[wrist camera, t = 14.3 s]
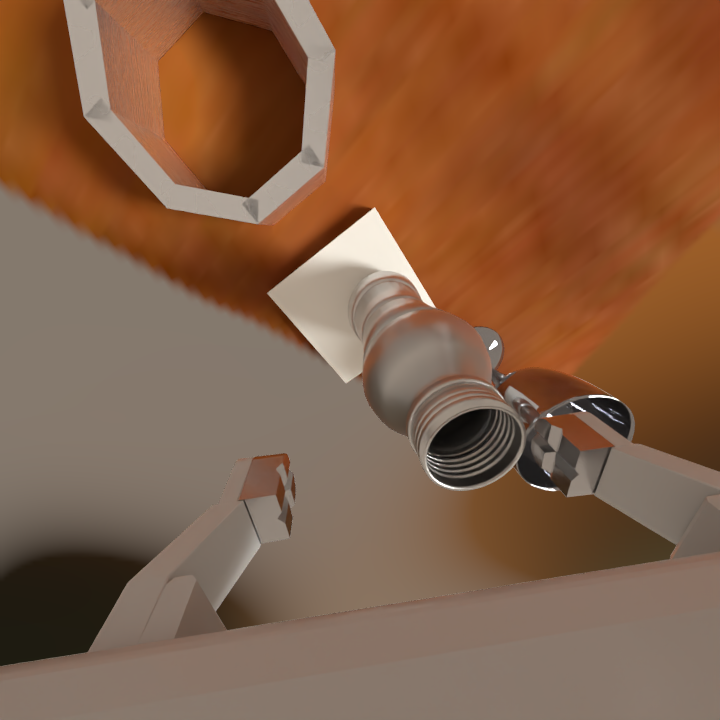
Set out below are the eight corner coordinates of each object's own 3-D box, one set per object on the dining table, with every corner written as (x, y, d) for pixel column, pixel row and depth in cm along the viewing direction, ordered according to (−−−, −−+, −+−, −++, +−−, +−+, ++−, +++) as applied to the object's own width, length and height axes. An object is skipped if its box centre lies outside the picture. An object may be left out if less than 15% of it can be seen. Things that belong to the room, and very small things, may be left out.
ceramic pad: (372, 208, 26) (374, 207, 24) (436, 313, 30) (441, 317, 29) (270, 290, 28) (267, 293, 26) (345, 377, 32) (345, 383, 31)
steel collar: (238, -74, 18) (198, -203, 13) (364, 147, 24) (375, 123, 18) (94, 86, 21) (10, 35, 15) (239, 254, 26) (215, 260, 21)
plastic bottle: (419, 271, 27) (608, 365, 9) (405, 339, 29) (526, 519, 11) (350, 262, 26) (398, 348, 8) (342, 334, 28) (365, 520, 10)
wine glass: (425, 366, 33) (492, 465, 19) (472, 309, 30) (588, 374, 17) (474, 397, 35) (565, 504, 21) (521, 346, 33) (657, 430, 19)
